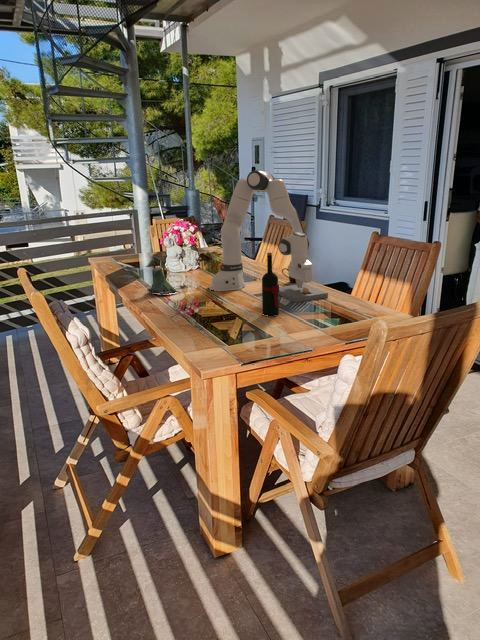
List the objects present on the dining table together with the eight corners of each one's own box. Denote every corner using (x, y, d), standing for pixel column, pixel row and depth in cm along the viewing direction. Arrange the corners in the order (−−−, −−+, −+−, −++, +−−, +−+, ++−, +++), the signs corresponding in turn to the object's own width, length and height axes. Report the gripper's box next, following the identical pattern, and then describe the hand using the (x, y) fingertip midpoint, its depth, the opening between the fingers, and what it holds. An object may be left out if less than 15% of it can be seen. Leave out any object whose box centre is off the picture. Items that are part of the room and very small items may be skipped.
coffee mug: (303, 280, 296) (303, 264, 293) (299, 284, 289) (299, 267, 286) (286, 279, 301) (285, 264, 298) (281, 282, 294) (281, 266, 291)
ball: (304, 294, 257) (304, 287, 257) (301, 293, 261) (300, 287, 260) (310, 293, 259) (309, 286, 258) (307, 292, 262) (306, 286, 261)
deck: (295, 302, 251) (295, 297, 250) (273, 292, 273) (273, 287, 272) (327, 297, 258) (328, 292, 257) (304, 287, 280) (304, 283, 279)
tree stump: (188, 292, 282) (181, 264, 273) (160, 307, 272) (151, 278, 263) (172, 286, 295) (164, 259, 286) (144, 299, 285) (135, 272, 277)
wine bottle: (271, 318, 226) (269, 255, 217) (259, 313, 234) (257, 252, 225) (284, 315, 230) (284, 253, 220) (272, 310, 238) (271, 250, 229)
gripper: (285, 260, 269) (285, 284, 274) (303, 266, 251) (303, 292, 255) (295, 259, 272) (295, 283, 276) (314, 265, 254) (314, 290, 258)
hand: (299, 287), depth 266 cm, fingers closed
